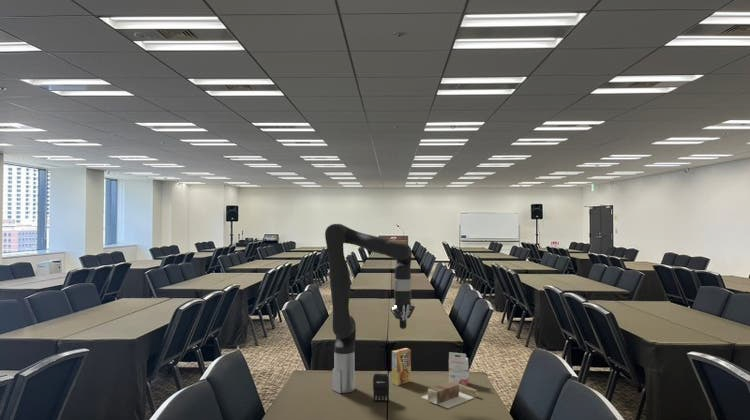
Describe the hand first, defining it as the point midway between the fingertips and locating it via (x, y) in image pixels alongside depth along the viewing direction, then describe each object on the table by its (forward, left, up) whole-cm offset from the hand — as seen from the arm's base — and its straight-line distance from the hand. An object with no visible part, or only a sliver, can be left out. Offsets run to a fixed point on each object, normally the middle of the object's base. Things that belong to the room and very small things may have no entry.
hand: (403, 328), depth 205 cm
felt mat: (+12, -15, -29) cm, 35 cm away
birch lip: (+22, -15, -29) cm, 39 cm away
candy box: (+10, +12, -29) cm, 33 cm away
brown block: (+2, -15, -26) cm, 30 cm away
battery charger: (-12, +1, -29) cm, 32 cm away
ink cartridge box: (+30, -6, -29) cm, 42 cm away
